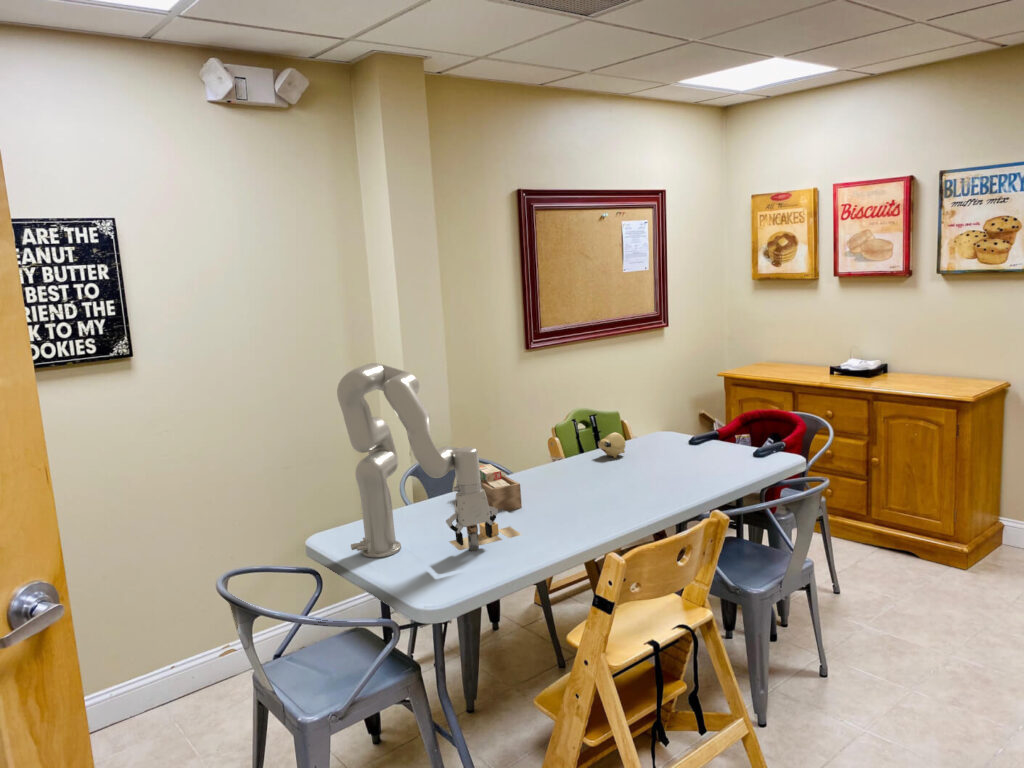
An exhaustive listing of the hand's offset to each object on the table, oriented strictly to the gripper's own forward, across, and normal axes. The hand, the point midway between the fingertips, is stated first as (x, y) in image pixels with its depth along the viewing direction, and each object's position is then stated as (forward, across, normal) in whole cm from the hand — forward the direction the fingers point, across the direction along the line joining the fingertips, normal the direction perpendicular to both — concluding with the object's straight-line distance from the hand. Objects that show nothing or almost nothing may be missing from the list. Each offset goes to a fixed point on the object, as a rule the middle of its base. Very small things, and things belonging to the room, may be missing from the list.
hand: (474, 540), depth 236 cm
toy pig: (+5, +94, +65) cm, 115 cm away
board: (+4, +6, +7) cm, 10 cm away
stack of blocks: (+4, +25, +41) cm, 49 cm away
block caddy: (+4, +26, +42) cm, 50 cm away
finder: (+3, +9, +10) cm, 13 cm away
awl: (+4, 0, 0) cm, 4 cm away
